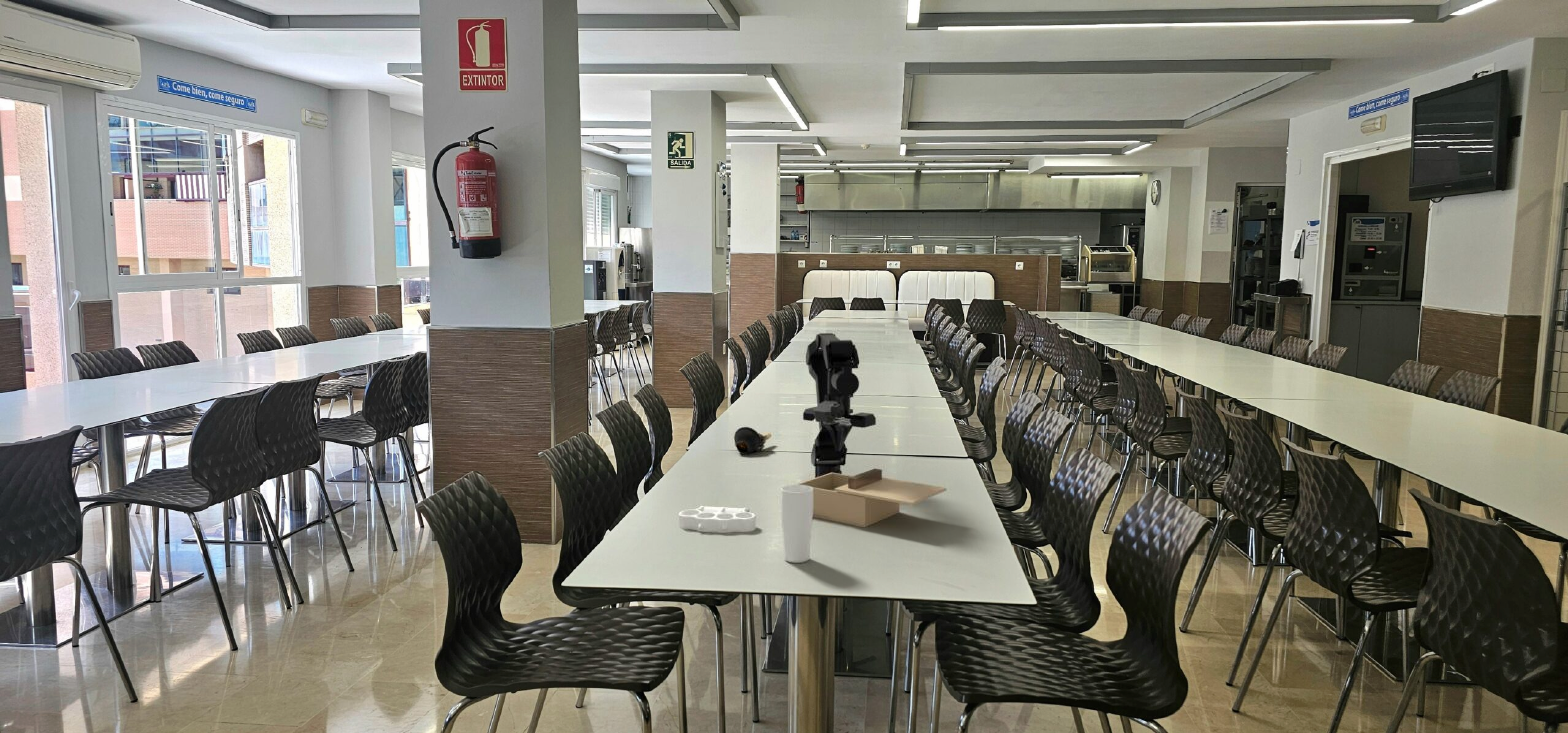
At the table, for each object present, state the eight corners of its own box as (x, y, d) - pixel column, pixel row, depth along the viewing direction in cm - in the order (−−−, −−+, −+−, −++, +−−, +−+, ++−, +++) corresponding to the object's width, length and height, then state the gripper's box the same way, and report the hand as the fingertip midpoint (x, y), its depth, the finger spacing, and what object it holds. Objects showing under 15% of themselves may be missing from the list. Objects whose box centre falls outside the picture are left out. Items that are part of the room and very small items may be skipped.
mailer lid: (834, 491, 218) (834, 478, 218) (871, 477, 231) (871, 465, 231) (912, 505, 206) (912, 491, 205) (946, 490, 219) (946, 477, 218)
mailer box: (794, 512, 226) (794, 484, 225) (831, 499, 239) (831, 472, 238) (864, 527, 214) (865, 497, 213) (899, 512, 227) (900, 484, 226)
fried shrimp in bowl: (723, 440, 291) (741, 413, 306) (740, 469, 294) (756, 441, 309) (748, 431, 287) (764, 405, 302) (764, 461, 290) (780, 433, 305)
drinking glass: (779, 554, 194) (779, 484, 193) (811, 554, 195) (811, 484, 193) (781, 565, 188) (782, 493, 186) (815, 564, 188) (815, 492, 186)
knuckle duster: (762, 519, 222) (750, 537, 207) (689, 516, 225) (672, 533, 210) (762, 505, 221) (750, 523, 207) (689, 502, 224) (672, 519, 210)
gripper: (790, 390, 233) (790, 451, 235) (853, 396, 222) (852, 461, 224) (815, 385, 242) (815, 444, 244) (877, 391, 231) (876, 453, 233)
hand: (838, 450), depth 236 cm, fingers closed
